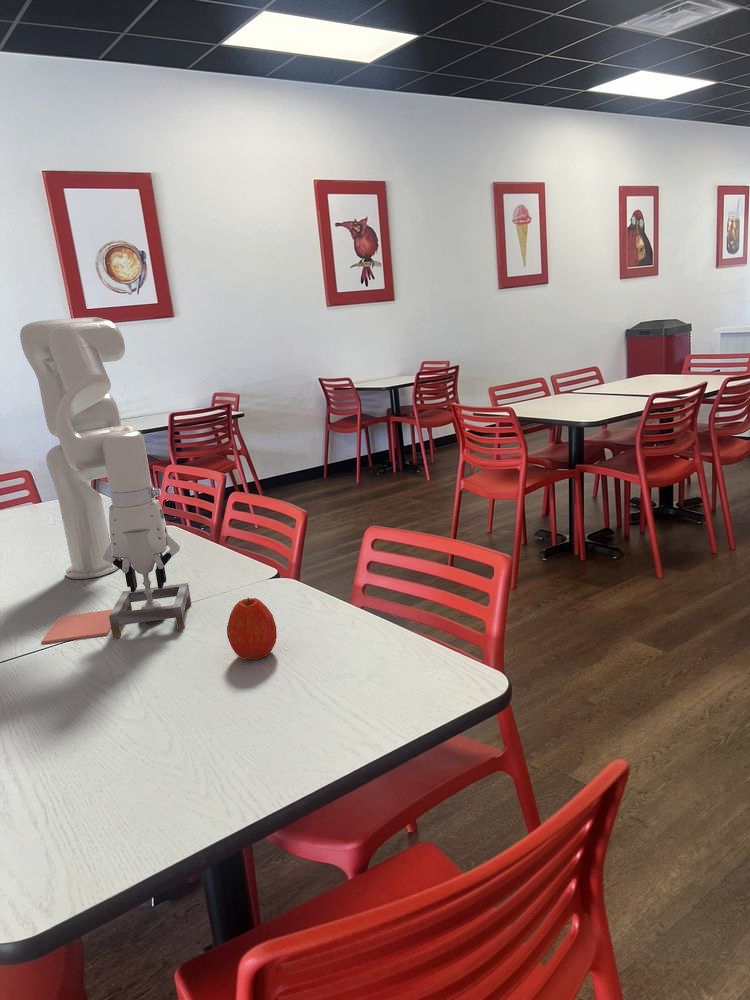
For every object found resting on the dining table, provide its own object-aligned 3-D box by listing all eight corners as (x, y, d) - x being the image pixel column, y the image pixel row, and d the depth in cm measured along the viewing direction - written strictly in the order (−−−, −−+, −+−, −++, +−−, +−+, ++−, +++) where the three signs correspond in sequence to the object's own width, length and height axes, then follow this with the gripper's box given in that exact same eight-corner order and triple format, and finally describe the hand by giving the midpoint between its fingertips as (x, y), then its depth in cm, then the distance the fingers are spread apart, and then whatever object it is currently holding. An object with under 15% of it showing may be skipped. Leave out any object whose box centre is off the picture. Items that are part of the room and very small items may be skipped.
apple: (238, 672, 115) (229, 611, 113) (224, 653, 122) (216, 595, 120) (286, 658, 119) (278, 598, 116) (270, 640, 126) (262, 584, 123)
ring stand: (126, 612, 145) (122, 591, 144) (191, 603, 146) (188, 582, 145) (113, 639, 132) (108, 616, 131) (184, 629, 134) (180, 606, 133)
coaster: (59, 618, 144) (59, 616, 144) (120, 610, 146) (120, 608, 146) (41, 643, 133) (41, 641, 133) (107, 634, 134) (107, 632, 134)
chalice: (178, 609, 141) (164, 522, 137) (157, 623, 135) (142, 533, 130) (147, 606, 144) (133, 521, 139) (125, 620, 138) (109, 532, 133)
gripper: (180, 487, 138) (193, 575, 143) (90, 497, 136) (107, 586, 141) (176, 497, 131) (190, 589, 135) (80, 507, 129) (98, 600, 133)
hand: (147, 587), depth 138 cm, fingers closed on chalice, 4 cm apart
